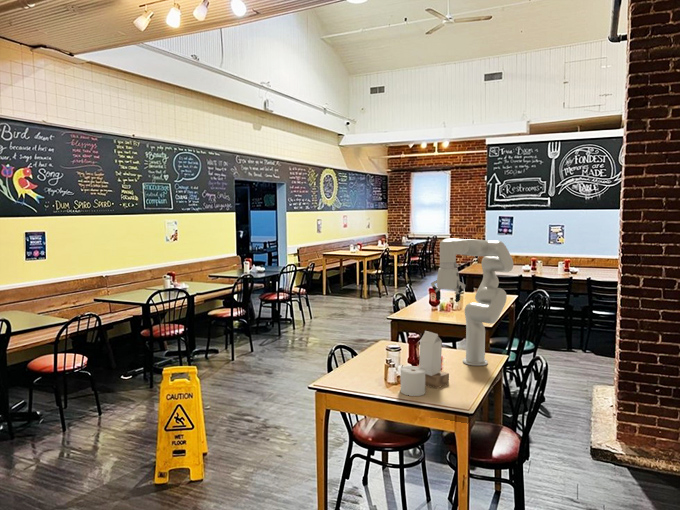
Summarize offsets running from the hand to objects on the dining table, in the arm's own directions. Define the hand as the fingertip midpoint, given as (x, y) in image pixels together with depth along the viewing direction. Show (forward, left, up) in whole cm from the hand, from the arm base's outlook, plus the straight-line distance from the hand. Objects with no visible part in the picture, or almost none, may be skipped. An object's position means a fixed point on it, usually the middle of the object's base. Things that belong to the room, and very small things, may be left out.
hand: (448, 300), depth 240 cm
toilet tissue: (+34, -2, -36) cm, 49 cm away
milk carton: (+19, -1, -31) cm, 36 cm away
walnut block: (+18, +1, -36) cm, 40 cm away
